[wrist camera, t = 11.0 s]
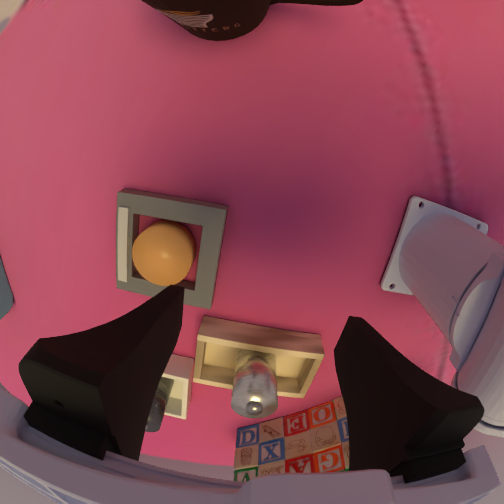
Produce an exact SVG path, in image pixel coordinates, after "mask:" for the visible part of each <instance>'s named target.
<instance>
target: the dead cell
mask: <svg viewBox="0 0 504 504" xmlns="http://www.w3.org/2000/svg"><path fill="white" fill-rule="evenodd" d="M173 384H174V379H170V378H166V377H161V380H160V382H159V384H158V387H157V390H156V393H155V396H154V399H153V403H152V406H151V410H150V413H149V417H148V421H147V425H146V429H145V431H147V432H156V431H158V430H159V429H160V426H161V423H162V419H163V416H164V413H165V409H166V406H167V403H168V400H169V397H170V393H171V390H172V387H173Z"/></svg>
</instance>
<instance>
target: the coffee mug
mask: <svg viewBox="0 0 504 504" xmlns="http://www.w3.org/2000/svg"><path fill="white" fill-rule="evenodd" d="M142 1H143V2H145V3H147V4H148V5H150V6H151V7H153V8H155V9H156V10H158V11H159V12H161V13H162V14H164V15H165V16H167V17H168V18H170V19H171V20H173V21H174V22H176V23H177V24H179V25H180V26H182V27H183V28H184V29H186V30H187V31H189V32H190V33H191V34H193V35H195V36H197V37H199V38H203V39H206V40H214V41H220V40H229V39H234V38H237V37H240V36H243V35H245V34H247V33H249V32H251V31H252V30H253V29H255V28H256V27H257V26H258V25H259V24H260V23H261V22H262V21H263V19H264V17H265V15H266V14H267V11H268V8H269V6H270V5H272V4H276V3H297V4H311V5H325V6H346V5H355V4H358V3H360V2H361V1H363V0H142Z"/></svg>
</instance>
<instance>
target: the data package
mask: <svg viewBox="0 0 504 504" xmlns="http://www.w3.org/2000/svg"><path fill="white" fill-rule="evenodd" d="M12 305H13V294H12V291H11V288H10V286H9V283H8V280H7V276H6V273H5V270H4V267H3V264H2V260H1V257H0V320H1V319H2V318H3V317H4V316H5V315H6V314H7V313H8V312H9V311H10V309H11V308H12Z"/></svg>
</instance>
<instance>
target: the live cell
mask: <svg viewBox="0 0 504 504" xmlns="http://www.w3.org/2000/svg"><path fill="white" fill-rule="evenodd" d="M231 407H232V409H233V410H234V411H235V412H236V413H237V414H239V415H241V416H244V417H248V418H262V417H266V416H269V415H271V414H272V413H274V412H275V411H276V410H277V407H278V397H277V374H276V354H272V353H265V352H259V351H253V350H247V349H241V348H237V354H236V363H235V373H234V382H233V391H232V401H231Z"/></svg>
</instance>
